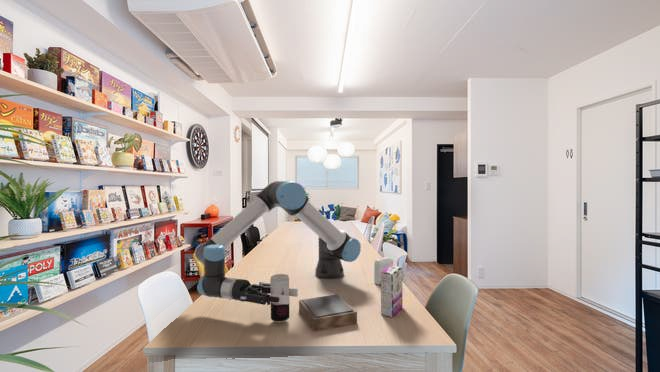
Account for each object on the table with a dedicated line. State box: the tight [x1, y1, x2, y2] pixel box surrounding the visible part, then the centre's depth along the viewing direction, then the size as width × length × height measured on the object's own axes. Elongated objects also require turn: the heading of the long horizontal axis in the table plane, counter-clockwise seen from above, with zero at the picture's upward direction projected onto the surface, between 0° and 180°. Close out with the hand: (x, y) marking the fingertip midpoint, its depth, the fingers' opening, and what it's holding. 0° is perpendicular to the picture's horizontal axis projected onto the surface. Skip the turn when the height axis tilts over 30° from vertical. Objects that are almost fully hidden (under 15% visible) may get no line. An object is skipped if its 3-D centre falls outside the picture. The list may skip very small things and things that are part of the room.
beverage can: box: [269, 273, 290, 323], centre depth 111 cm, size 6×6×15 cm
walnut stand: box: [298, 294, 358, 332], centre depth 116 cm, size 16×18×4 cm
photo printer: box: [373, 256, 394, 285], centre depth 154 cm, size 10×4×12 cm, turn 123°
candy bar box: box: [380, 264, 404, 318], centre depth 121 cm, size 11×5×16 cm, turn 148°
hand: (292, 296), depth 110 cm, fingers closed on beverage can, 6 cm apart
